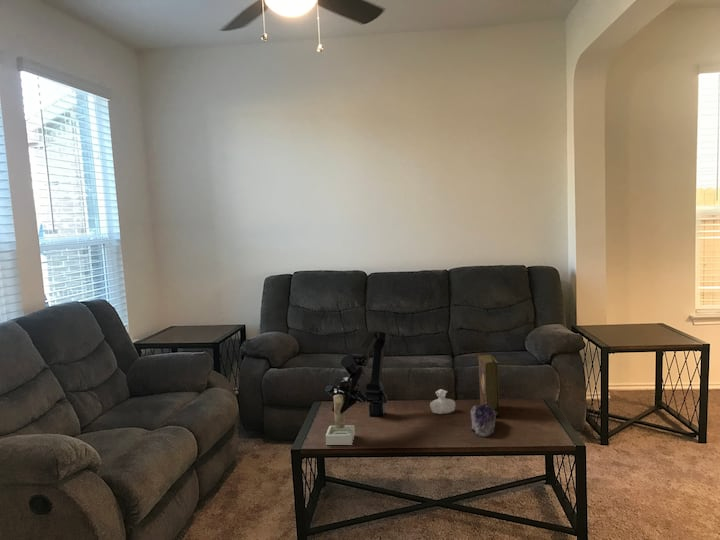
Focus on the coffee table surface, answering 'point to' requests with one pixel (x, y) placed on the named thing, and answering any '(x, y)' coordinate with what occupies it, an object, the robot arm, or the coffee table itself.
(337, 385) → the robot arm
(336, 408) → the peg
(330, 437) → the bore box
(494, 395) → the book
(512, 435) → the coffee table surface
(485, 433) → the geode
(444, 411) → the white rounded necked piece
